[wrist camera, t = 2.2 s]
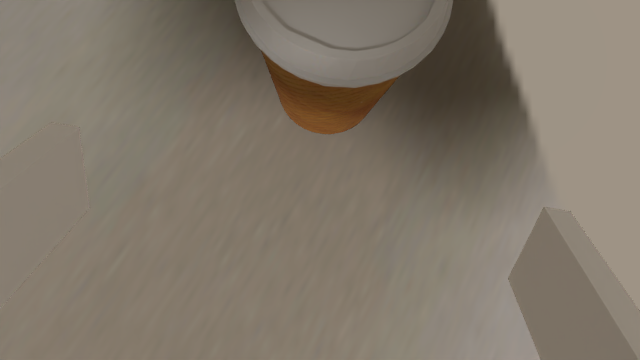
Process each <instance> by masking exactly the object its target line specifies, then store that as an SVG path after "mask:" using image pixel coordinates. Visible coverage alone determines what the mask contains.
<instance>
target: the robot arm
mask: <svg viewBox="0 0 640 360" xmlns="http://www.w3.org/2000/svg"><path fill="white" fill-rule="evenodd" d="M89 208H90V204H89V197H88V189H87V181H86V174H85V166H84V158H83V151H82V143H81V136H80V128H79V127H77V126H71V125H65V124H59V123H54V122H51V123H50V124H48V125H47V126H46V127H44V128H43V129H41V130H40V131H38V132H37V133H36V134H34V135H33V136H31V137H30V138H29V139H27V140H26V141H24V142H23V143H21V144H20V145H19V146H17V147H16V148H14V149H13V150H12V151H10V152H9V153H7V154H6V155H4V156H3V157H2V158H0V309H1V308H2V306H3V305H4V304H5V303H6V302H7V301H8V300H9V299H10V297H11V296H12V295H13V294H14V293H15V292H16V291H17V290H18V288H19V287H20V286H21V285H22V284H23V283H24V282H25V281H26V279H27V278H28V277H29V276H30V275H31V274H32V273H33V272H34V270H35V269H36V268H37V267H38V266H39V265H40V264H41V263H42V261H43V260H44V259H45V258H46V257H47V256H48V255H49V254H50V252H51V251H52V250H53V249H54V248H55V247H56V246H57V245H58V243H59V242H60V241H61V240H62V239H63V238H64V237H65V236H66V234H67V233H68V232H69V231H70V230H71V229H72V228H73V227H74V225H75V224H76V223H77V222H78V221H79V220H80V219H81V218H82V216H83V215H84V214H85V213H86V212H87V211H88V210H89ZM508 280H509V282H510V285H511V287H512V289H513V292H514V294H515V297H516V299H517V302H518V304H519V307H520V309H521V312H522V314H523V317H524V319H525V322H526V324H527V327H528V329H529V332H530V334H531V337H532V339H533V342H534V344H535V347H536V349H537V352H538V354H539V357H540V359H541V360H640V310H639V309H638V308H637V306H636V305H635V303H634V302H633V300H632V299H631V297H630V296H629V295H628V293H627V292H626V290H625V289H624V287H623V286H622V284H621V283H620V282H619V280H618V279H617V277H616V276H615V274H614V273H613V272H612V270H611V269H610V267H609V266H608V264H607V263H606V262H605V260H604V259H603V257H602V256H601V254H600V253H599V251H598V250H597V249H596V247H595V246H594V244H593V243H592V242H591V240H590V239H589V237H588V236H587V234H586V233H585V231H584V230H583V229H582V227H581V226H580V224H579V223H578V221H577V220H576V218H575V217H574V216H573V214H572V213H571V211H566V210H560V209H554V208H548V207H544V208H543V210H542V212H541V214H540V216H539V218H538V220H537V222H536V224H535V226H534V228H533V230H532V232H531V234H530V236H529V238H528V240H527V242H526V244H525V246H524V248H523V250H522V252H521V254H520V256H519V258H518V260H517V262H516V264H515V266H514V267H513V269H512V271H511V273H510V275H509V277H508Z"/></svg>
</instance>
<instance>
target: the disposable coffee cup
mask: <svg viewBox="0 0 640 360" xmlns="http://www.w3.org/2000/svg"><path fill="white" fill-rule="evenodd" d="M235 3H236V7H237V11H238V14H239V17H240V19H241V22H242V24H243V26H244V27H245V29H246V30H247V32H248V34H249V35H250V37H251V38H252V40H253V41H254V43H255V45H256V46H257V47H258V48H259V49H260V50H261V52H262V54H263V57H264V59H265V61H266V64H267V67H268V69H269V72H270V74H271V78H272V80H273V82H274V85H275V88H276V90H277V93H278V95H279V98H280V102H281V104H282V106H283V108H284V110H285V112H286V113H287V114H288V116H289V117H290V118H291V119H292V120H293V121H294V122H295V123H296V124H298V125H299V126H301V127H303V128H304V129H307V130H309V131H312V132H315V133H322V134H335V133H339V132H344V131H346V130H348V129H350V128H352V127H354V126H355V125H357V124H358V123H359V122H360V121H361V120H362V119H363V118H364V117H365V116H366V115H367V113H368V112H369V111H370V110H371V109H372V108H373V106H374V105H375V104H376V103H377V102H378V101H379V99H380V98H381V97H382V96H383V95H384V94H385V92H386V91H387V90H388V89H389V88H390V87H391V85H392V84H393V83H394V82H395V80H396V79H397V78H398V77H399V76H400V75H401V74H403V73H405V72H407V71H408V70H410V69H412V68H413V67H415V66H416V65H417V64H418V63H419V62H420V61H422V60H423V59H424V58H425V57H426V56H427V55H428V54H429V53H430V52H431V51H432V50H433V49H434V47H435V46H436V44H437V43H438V41H439V40H440V38H441V37H442V35H443V34H444V31H445V29H446V27H447V24H448V22H449V20H450V15H451V10H452V5H453V0H235Z"/></svg>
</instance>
